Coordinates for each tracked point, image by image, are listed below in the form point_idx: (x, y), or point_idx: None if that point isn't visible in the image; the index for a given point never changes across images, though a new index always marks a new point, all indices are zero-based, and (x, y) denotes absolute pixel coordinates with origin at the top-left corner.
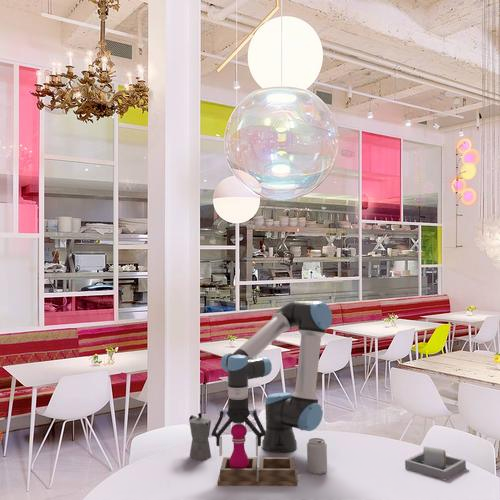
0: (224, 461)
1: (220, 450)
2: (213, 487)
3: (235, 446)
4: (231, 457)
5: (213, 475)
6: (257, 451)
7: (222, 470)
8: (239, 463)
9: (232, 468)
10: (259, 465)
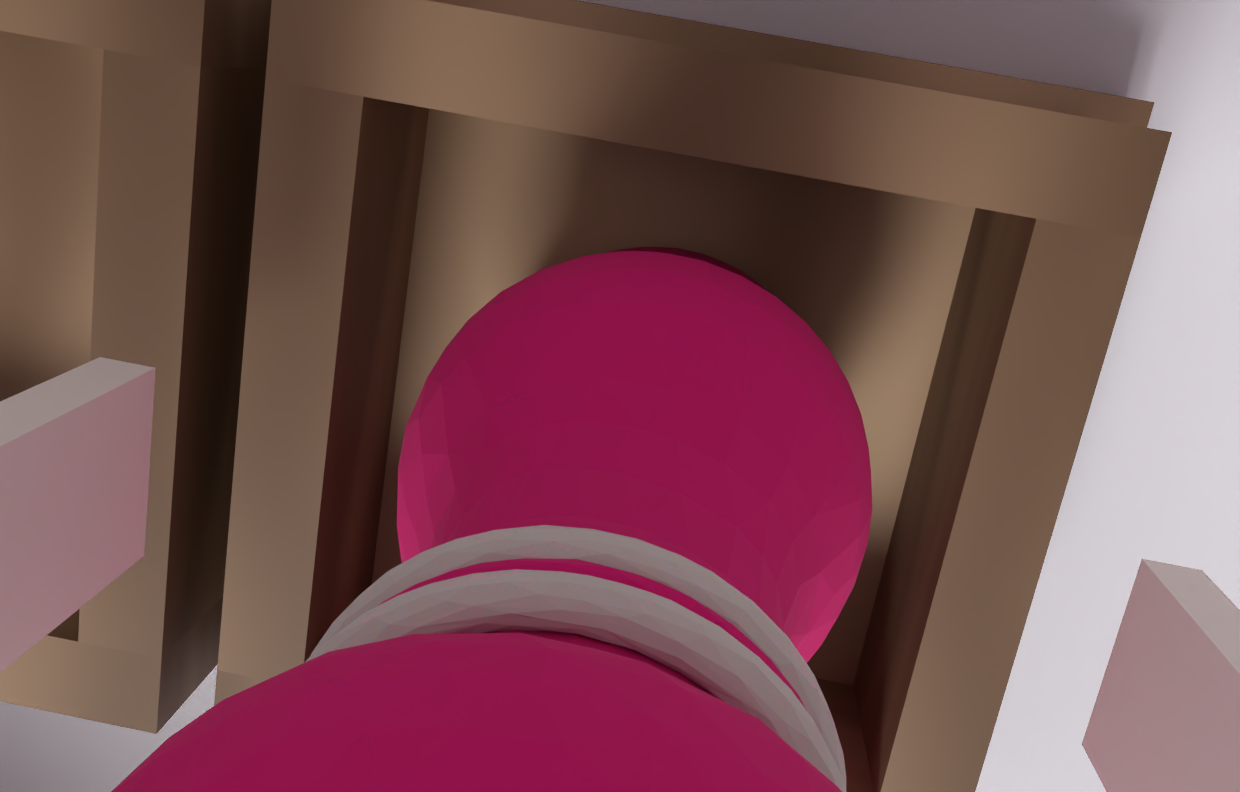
0: (961, 658)
1: (1233, 638)
2: (1214, 46)
3: (727, 577)
4: (842, 485)
5: (1108, 607)
6: (38, 391)
7: (1106, 123)
8: (647, 267)
9: (839, 181)
10: (177, 260)
